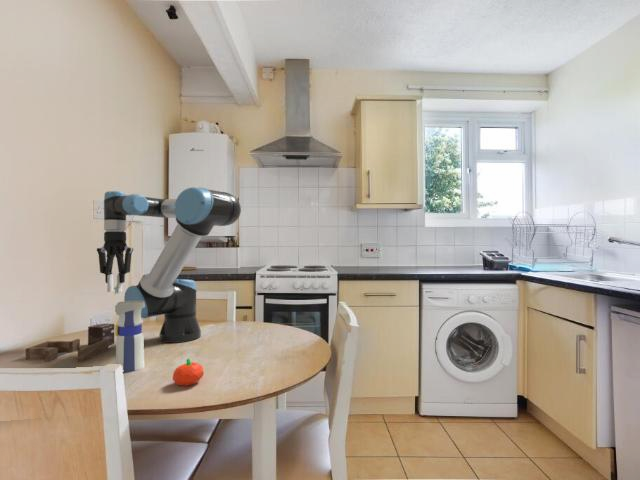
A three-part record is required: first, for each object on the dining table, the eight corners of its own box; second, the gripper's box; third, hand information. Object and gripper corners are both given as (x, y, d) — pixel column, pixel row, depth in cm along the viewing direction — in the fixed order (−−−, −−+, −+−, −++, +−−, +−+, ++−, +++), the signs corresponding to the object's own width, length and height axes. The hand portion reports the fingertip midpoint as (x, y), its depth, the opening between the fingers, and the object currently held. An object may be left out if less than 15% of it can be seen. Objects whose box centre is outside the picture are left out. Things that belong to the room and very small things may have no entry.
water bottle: (111, 375, 99) (111, 285, 100) (115, 365, 107) (115, 282, 108) (144, 370, 103) (144, 283, 103) (145, 362, 110) (145, 281, 111)
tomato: (167, 390, 90) (164, 364, 90) (189, 378, 98) (186, 355, 98) (189, 390, 88) (186, 363, 88) (210, 378, 95) (207, 354, 95)
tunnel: (108, 348, 125) (108, 338, 125) (81, 361, 111) (81, 350, 111) (53, 349, 125) (53, 339, 125) (19, 362, 111) (19, 350, 111)
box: (101, 348, 126) (101, 327, 127) (87, 347, 128) (87, 326, 128) (114, 343, 132) (114, 323, 133) (101, 342, 134) (101, 323, 134)
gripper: (140, 231, 143) (140, 290, 143) (100, 231, 143) (100, 290, 143) (130, 230, 136) (130, 292, 135) (88, 231, 136) (88, 292, 135)
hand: (115, 291), depth 139 cm, fingers open, 3 cm apart
